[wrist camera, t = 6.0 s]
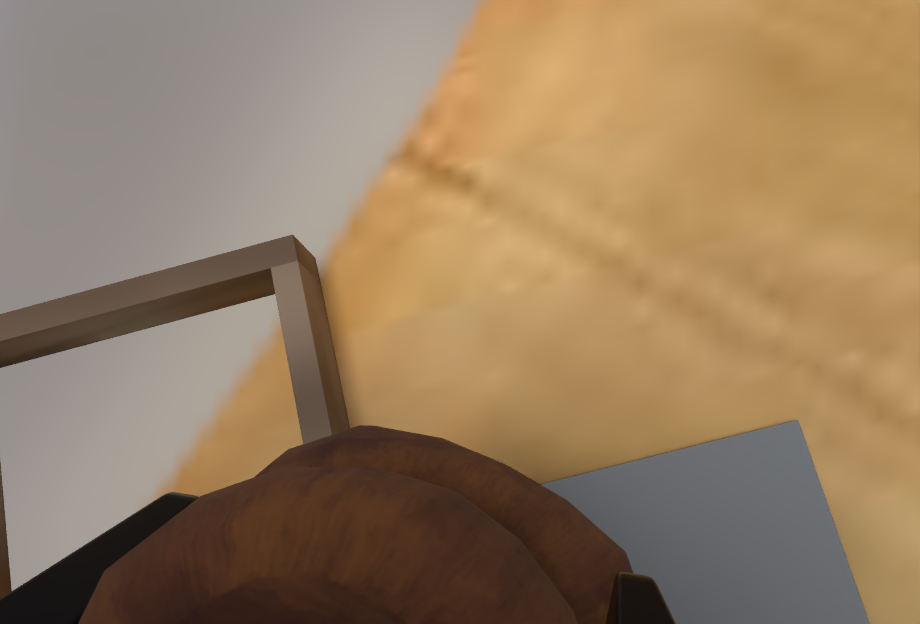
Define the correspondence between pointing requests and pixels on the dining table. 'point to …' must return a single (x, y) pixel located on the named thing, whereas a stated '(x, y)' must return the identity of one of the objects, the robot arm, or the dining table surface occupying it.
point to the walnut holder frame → (187, 295)
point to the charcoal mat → (727, 530)
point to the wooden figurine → (369, 545)
